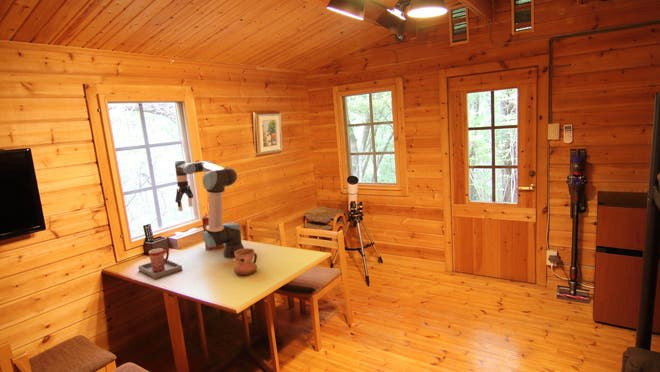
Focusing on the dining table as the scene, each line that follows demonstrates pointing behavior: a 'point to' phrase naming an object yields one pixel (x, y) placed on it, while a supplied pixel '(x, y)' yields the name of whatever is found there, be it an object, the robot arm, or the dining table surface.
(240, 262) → the ceramic jug
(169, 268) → the tray
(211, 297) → the dining table surface
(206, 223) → the food packaging
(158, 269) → the mug
